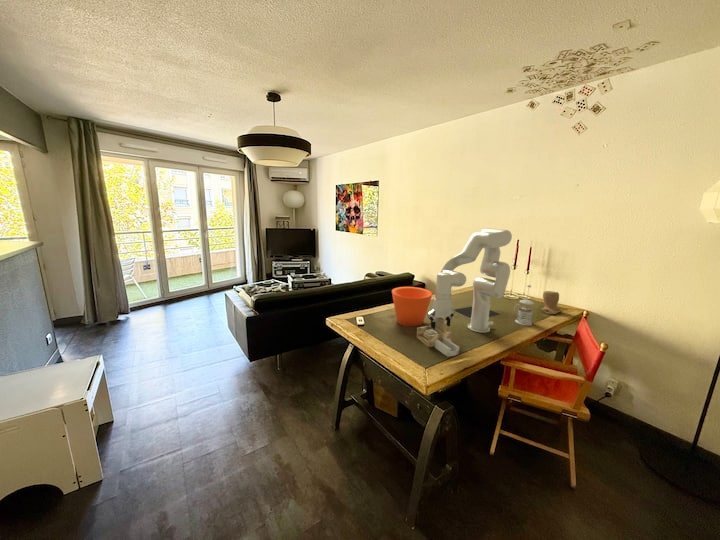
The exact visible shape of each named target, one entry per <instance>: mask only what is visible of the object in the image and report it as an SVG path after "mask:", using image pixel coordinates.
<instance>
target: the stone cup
mask: <svg viewBox="0 0 720 540" xmlns="http://www.w3.org/2000/svg"><path fill="white" fill-rule="evenodd" d="M542 299H543V303H544V307H542V308H541V309H540V311H542V312H543V313H545V314H548V315H555V314H558V313H561V312H562V309H561V308H558V306H557V305H558V303H559V301H560V293H559V292H558V291H552V290H548V291H547V290H545V291H543V293H542Z"/></svg>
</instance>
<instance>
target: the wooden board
mask: <svg viewBox="0 0 720 540" xmlns="http://www.w3.org/2000/svg"><path fill="white" fill-rule="evenodd" d="M435 322H436V326H435V329H434V331H435V332H437V333H438V334H440V333H445V332H446V331H447V325H446V324H447V320H446V318H444V317H442V318H437V319H436V320H435Z"/></svg>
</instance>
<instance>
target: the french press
mask: <svg viewBox="0 0 720 540" xmlns="http://www.w3.org/2000/svg"><path fill="white" fill-rule="evenodd" d="M526 287H527V288H528V289H527V292H529V290H530V288H532V286H531V284H528V285H527V286H526ZM528 296H529V295H527V296H526V299H521V300H519V302H518V303H516V304H515V305H514V307H513V308H514V309H516V308H517V306H519V308H518V309H517V310H518V311H517V312H516V310H513V312H514V314H516V319H515V320H514V322H515V323H517V324H518V325H521V326H522V325H523V326H533V323H532V318H533V317H532V316H533V308H531V307H529V306H531V305H534V304H535V303H534V302H533V301H532V300H530V299H528ZM521 304H523V306H522V305H521ZM525 305H526V306H525ZM528 305H529V306H528Z"/></svg>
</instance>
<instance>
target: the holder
mask: <svg viewBox="0 0 720 540" xmlns="http://www.w3.org/2000/svg"><path fill="white" fill-rule="evenodd" d="M433 348H435V349H436V350H437V351H439V352H441V353H442V354H443V356H446V357H448V358H450V357H454V356H458V355H459V354H460V346H459V345H458V344H455V343H454V342H453V341H452V340H451V341H450V340H448V339H446V338H443V341H442V342H441V341H439V340H438V339H436V340H435V343H434V346H433Z"/></svg>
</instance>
